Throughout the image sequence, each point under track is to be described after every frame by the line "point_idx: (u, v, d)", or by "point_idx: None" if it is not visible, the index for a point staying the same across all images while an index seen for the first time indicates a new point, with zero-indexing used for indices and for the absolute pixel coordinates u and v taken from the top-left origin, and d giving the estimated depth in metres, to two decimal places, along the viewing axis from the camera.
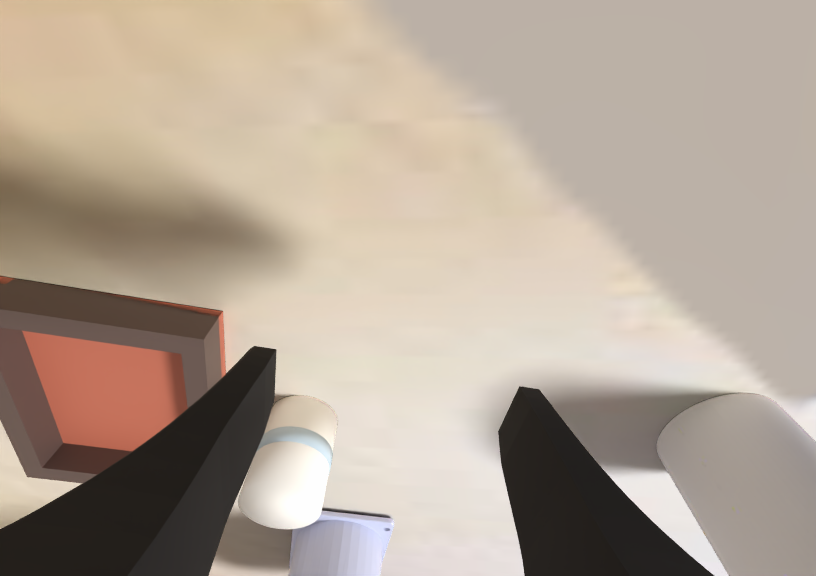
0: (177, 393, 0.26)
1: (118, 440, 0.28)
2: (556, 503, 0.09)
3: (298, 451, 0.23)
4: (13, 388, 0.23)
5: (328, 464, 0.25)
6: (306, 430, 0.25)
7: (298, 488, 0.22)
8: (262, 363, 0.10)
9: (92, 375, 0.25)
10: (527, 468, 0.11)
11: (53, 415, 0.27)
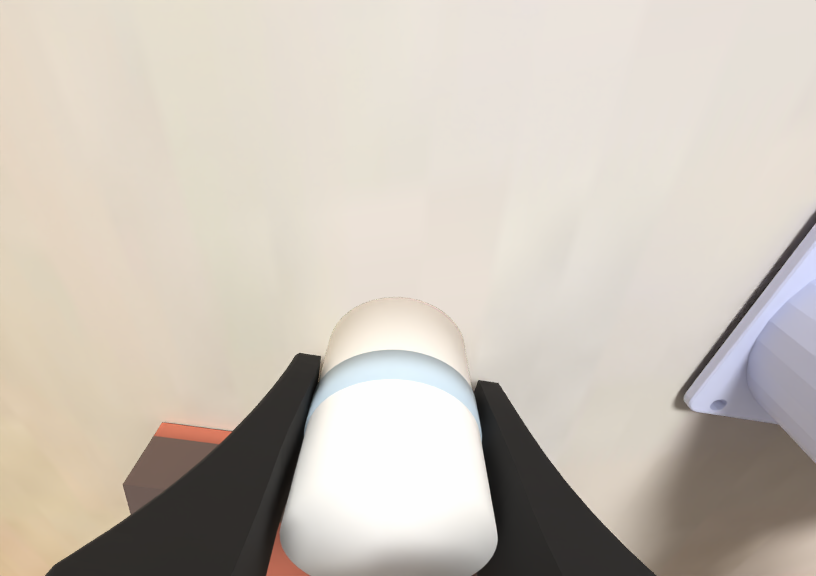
0: None
1: None
2: (504, 497, 0.09)
3: (304, 438, 0.10)
4: None
5: (382, 380, 0.10)
6: None
7: (298, 509, 0.08)
8: (311, 370, 0.11)
9: None
10: None
11: None
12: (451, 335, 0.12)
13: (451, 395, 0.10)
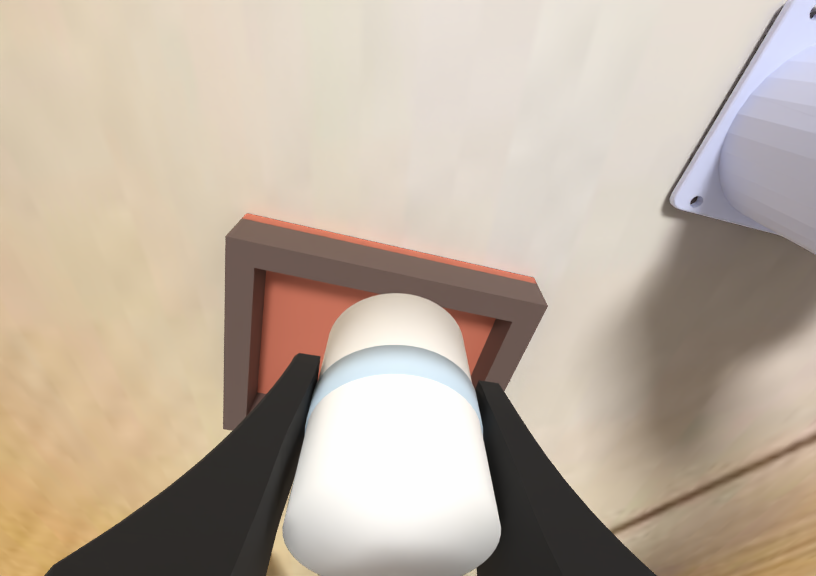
0: None
1: None
2: (504, 497, 0.09)
3: (306, 434, 0.10)
4: None
5: (384, 375, 0.10)
6: None
7: (302, 503, 0.08)
8: (310, 370, 0.11)
9: None
10: None
11: None
12: (451, 331, 0.12)
13: (453, 390, 0.10)
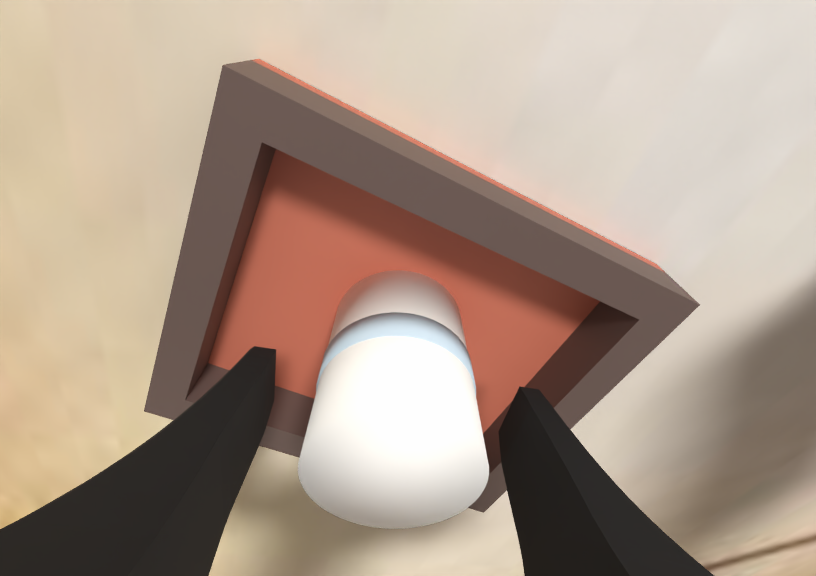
0: (425, 247, 0.13)
1: (494, 389, 0.17)
2: (556, 503, 0.09)
3: (318, 388, 0.11)
4: None
5: (389, 336, 0.11)
6: None
7: (316, 440, 0.09)
8: (262, 363, 0.10)
9: None
10: (527, 468, 0.11)
11: None
12: (449, 305, 0.13)
13: (450, 351, 0.11)
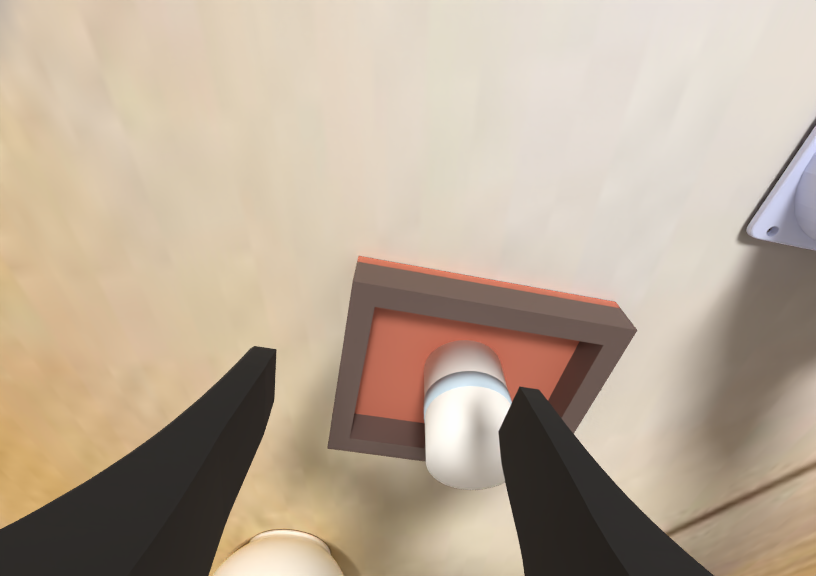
0: (467, 326, 0.23)
1: None
2: (556, 503, 0.09)
3: (426, 421, 0.21)
4: None
5: (457, 388, 0.20)
6: (426, 395, 0.22)
7: (432, 448, 0.19)
8: (262, 363, 0.10)
9: None
10: (527, 468, 0.11)
11: None
12: (489, 357, 0.22)
13: (492, 389, 0.20)
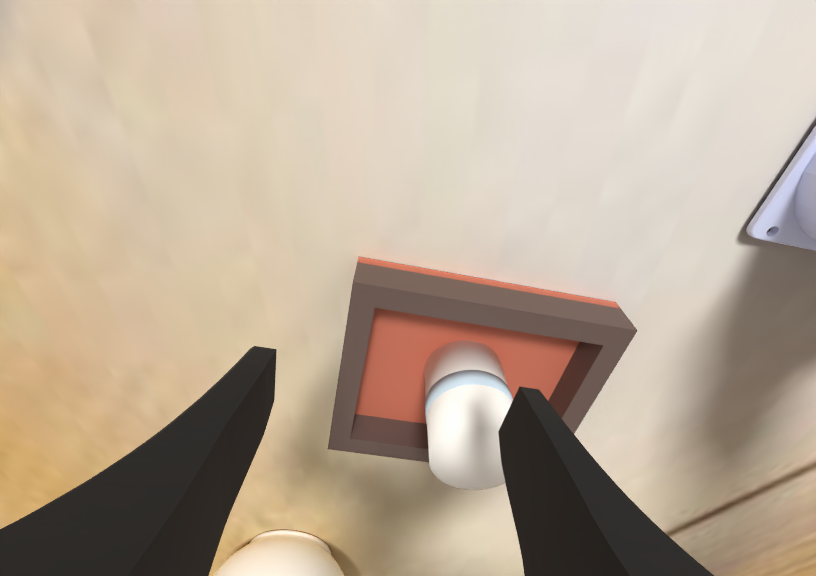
0: (467, 326, 0.23)
1: None
2: (556, 503, 0.09)
3: (428, 420, 0.20)
4: (427, 445, 0.25)
5: (460, 386, 0.20)
6: (428, 395, 0.22)
7: (436, 446, 0.19)
8: (262, 363, 0.10)
9: None
10: (527, 468, 0.11)
11: None
12: (491, 356, 0.22)
13: (495, 388, 0.20)
